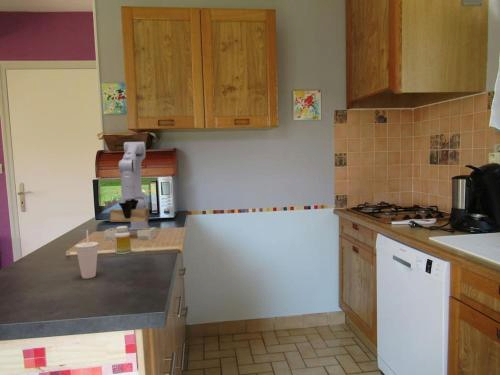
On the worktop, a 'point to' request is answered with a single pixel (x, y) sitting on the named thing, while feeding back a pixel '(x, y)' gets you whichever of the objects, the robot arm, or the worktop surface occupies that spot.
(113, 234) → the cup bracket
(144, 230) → the cup bracket
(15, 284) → the worktop surface
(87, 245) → the smoothie
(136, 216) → the oak rail
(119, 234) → the supplement bottle
